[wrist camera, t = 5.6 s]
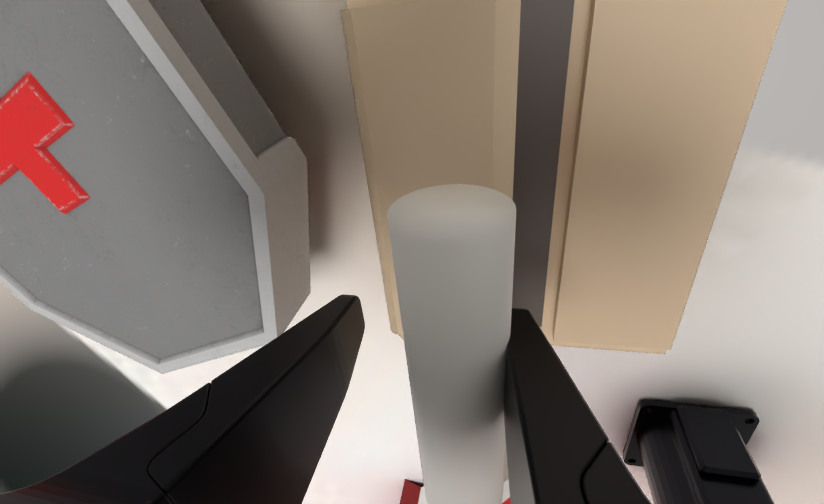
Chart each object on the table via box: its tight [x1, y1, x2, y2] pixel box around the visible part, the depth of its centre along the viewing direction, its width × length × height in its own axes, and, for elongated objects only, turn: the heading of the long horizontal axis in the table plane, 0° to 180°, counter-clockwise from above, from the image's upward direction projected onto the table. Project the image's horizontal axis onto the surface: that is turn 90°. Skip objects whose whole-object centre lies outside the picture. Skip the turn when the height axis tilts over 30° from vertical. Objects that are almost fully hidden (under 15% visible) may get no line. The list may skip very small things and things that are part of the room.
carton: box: [346, 0, 788, 354], centre depth 18 cm, size 16×13×5 cm
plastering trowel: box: [340, 0, 521, 504], centre depth 12 cm, size 14×11×5 cm
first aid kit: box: [0, 0, 310, 374], centre depth 19 cm, size 18×8×25 cm
